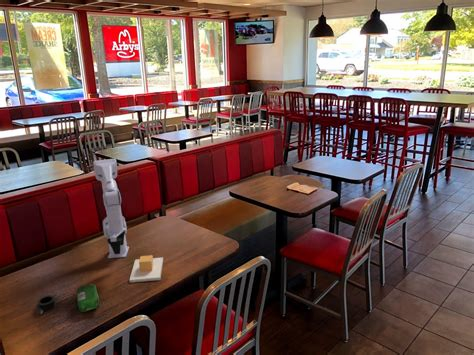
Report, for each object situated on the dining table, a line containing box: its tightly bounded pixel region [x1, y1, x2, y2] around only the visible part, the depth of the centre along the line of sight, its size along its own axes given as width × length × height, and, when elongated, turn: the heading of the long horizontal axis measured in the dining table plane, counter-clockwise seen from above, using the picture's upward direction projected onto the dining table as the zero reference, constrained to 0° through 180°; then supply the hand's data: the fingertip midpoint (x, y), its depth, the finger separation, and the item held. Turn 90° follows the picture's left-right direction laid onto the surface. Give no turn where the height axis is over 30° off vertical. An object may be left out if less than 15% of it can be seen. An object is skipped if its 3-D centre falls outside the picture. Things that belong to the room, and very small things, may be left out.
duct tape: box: [35, 293, 58, 315], centre depth 139 cm, size 8×10×3 cm
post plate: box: [129, 257, 164, 283], centre depth 160 cm, size 16×12×4 cm
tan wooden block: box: [139, 254, 154, 272], centre depth 160 cm, size 5×5×4 cm
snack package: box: [76, 283, 100, 313], centre depth 140 cm, size 7×16×5 cm, turn 24°
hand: (119, 249), depth 160 cm, fingers open, 7 cm apart
